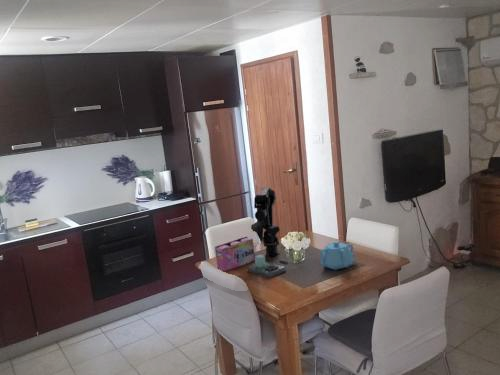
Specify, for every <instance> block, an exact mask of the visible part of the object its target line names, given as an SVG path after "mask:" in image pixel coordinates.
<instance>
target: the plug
mask: <svg viewBox="0 0 500 375" xmlns="http://www.w3.org/2000/svg"><path fill="white" fill-rule="evenodd" d="M265 261H266V255H264V254H263V255H262V254H258V255H255V261H254V264H256V266H257V267H263V266H265V265H266V262H267V261H266V262H265Z"/></svg>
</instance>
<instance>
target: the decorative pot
mask: <svg viewBox="0 0 500 375" xmlns="http://www.w3.org/2000/svg"><path fill="white" fill-rule="evenodd" d="M353 251H354V246H353V245H352V244H351V243H344V242H339V241H333V242H330V243H327V244H326V245H325V247H324V248H323V249H321V250H320V254H319V255H320V258H321V259H322V260H320V265H322V266H325V267H326V268H328V269H331V270H333V271H338V270H340V269H346V268H349V267H350V266H352V265H353V262H354V258H355V254H354V252H353Z"/></svg>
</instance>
